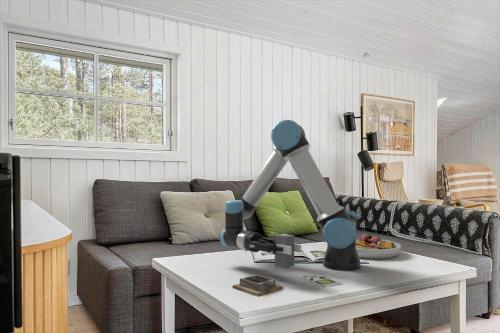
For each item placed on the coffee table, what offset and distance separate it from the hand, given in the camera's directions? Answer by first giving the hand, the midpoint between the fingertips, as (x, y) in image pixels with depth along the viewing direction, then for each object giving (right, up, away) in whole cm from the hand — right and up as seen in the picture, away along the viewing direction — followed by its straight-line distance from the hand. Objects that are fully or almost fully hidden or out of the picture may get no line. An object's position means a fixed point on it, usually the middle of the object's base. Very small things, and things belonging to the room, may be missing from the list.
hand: (295, 249), depth 142 cm
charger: (-4, -7, +4) cm, 8 cm away
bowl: (+40, -13, +51) cm, 66 cm away
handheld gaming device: (+9, -13, +4) cm, 16 cm away
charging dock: (-14, -12, -6) cm, 19 cm away
